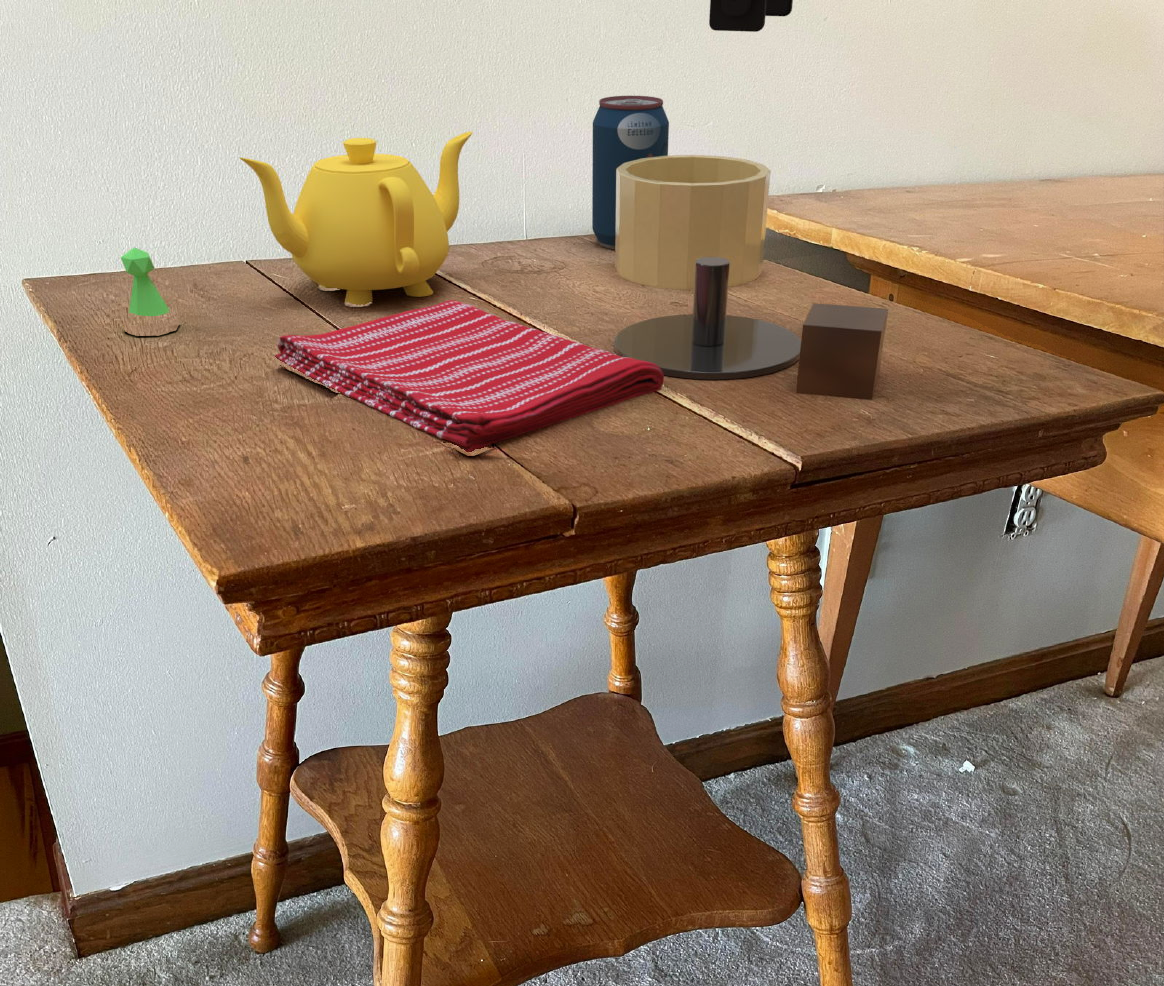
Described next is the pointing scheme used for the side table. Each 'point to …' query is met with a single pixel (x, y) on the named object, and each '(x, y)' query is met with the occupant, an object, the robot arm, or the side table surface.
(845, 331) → the block
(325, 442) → the side table surface
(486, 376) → the dish towel
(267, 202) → the teapot
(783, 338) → the lid
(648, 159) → the pot
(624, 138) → the soda can
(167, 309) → the game piece
